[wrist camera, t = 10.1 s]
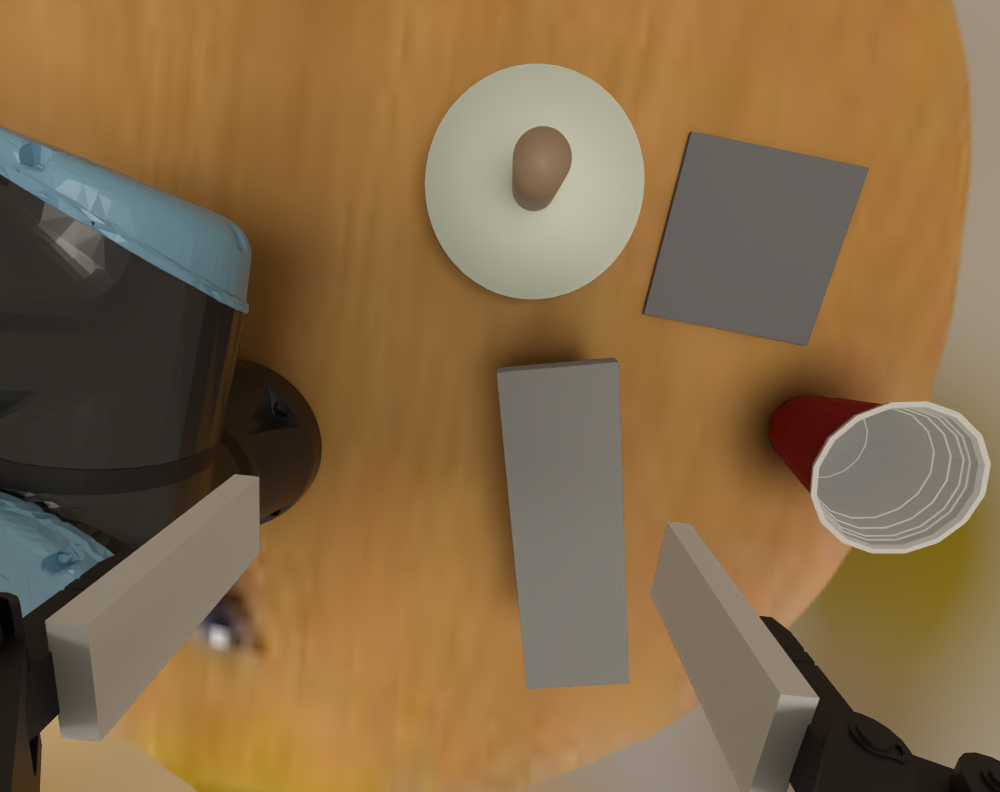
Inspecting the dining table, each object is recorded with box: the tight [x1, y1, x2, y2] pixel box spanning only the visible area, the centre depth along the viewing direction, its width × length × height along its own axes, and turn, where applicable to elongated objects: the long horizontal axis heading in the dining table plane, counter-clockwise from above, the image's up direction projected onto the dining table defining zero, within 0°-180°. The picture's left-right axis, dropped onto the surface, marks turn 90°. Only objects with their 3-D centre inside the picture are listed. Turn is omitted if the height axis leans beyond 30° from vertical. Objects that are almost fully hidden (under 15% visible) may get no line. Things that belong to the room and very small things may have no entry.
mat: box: [642, 132, 869, 346], centre depth 39 cm, size 14×14×1 cm
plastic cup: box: [769, 396, 991, 553], centre depth 37 cm, size 11×11×12 cm
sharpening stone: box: [497, 358, 629, 689], centre depth 40 cm, size 25×8×11 cm, turn 5°
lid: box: [425, 64, 644, 299], centre depth 29 cm, size 15×15×10 cm
